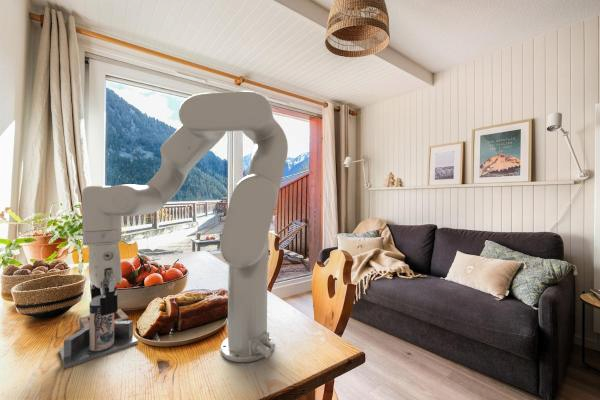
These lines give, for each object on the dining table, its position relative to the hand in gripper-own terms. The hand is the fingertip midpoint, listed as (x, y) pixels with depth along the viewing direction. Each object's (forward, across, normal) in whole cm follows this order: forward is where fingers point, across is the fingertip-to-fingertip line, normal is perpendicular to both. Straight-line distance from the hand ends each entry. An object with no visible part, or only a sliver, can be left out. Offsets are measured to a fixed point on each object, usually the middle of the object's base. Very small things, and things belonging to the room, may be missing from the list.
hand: (104, 308), depth 65 cm
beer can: (+10, 0, 0) cm, 10 cm away
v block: (+10, +2, +1) cm, 10 cm away
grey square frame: (+10, +13, -2) cm, 17 cm away
